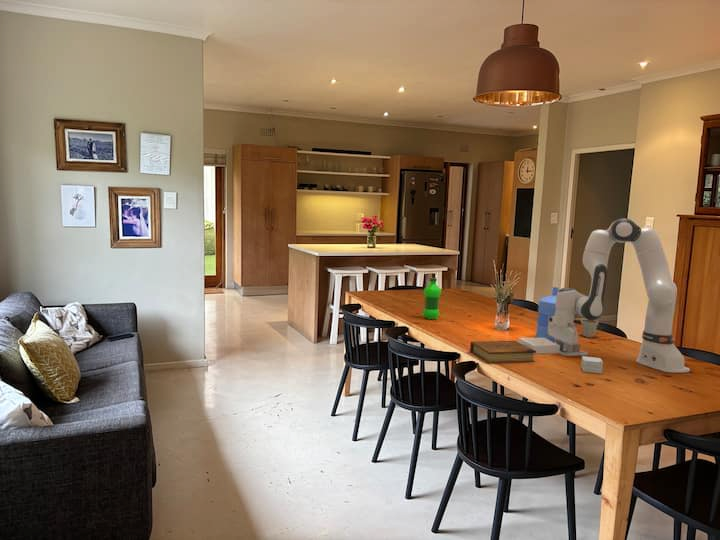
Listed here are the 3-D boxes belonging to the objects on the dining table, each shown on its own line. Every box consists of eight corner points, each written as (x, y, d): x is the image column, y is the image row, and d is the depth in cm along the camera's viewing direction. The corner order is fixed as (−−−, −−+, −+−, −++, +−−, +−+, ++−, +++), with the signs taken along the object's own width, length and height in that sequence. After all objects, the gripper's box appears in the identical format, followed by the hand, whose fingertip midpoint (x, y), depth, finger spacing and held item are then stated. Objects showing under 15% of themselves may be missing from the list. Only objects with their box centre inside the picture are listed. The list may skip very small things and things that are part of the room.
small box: (580, 366, 232) (581, 355, 232) (600, 369, 230) (601, 357, 229) (582, 371, 225) (583, 360, 224) (602, 374, 223) (603, 362, 222)
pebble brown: (579, 352, 255) (580, 344, 254) (573, 352, 254) (574, 344, 254) (575, 350, 258) (575, 342, 258) (569, 350, 258) (570, 342, 257)
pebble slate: (572, 352, 254) (573, 344, 254) (566, 352, 253) (567, 344, 253) (568, 350, 258) (569, 342, 257) (562, 350, 257) (563, 342, 256)
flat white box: (559, 354, 251) (560, 345, 251) (532, 354, 248) (533, 345, 248) (543, 346, 265) (544, 337, 264) (518, 346, 262) (518, 337, 261)
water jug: (539, 334, 292) (543, 284, 288) (569, 338, 284) (573, 287, 280) (532, 339, 278) (537, 287, 275) (563, 344, 270) (568, 291, 267)
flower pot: (599, 339, 286) (600, 323, 285) (580, 337, 288) (582, 322, 287) (595, 335, 295) (596, 320, 294) (577, 333, 297) (578, 318, 296)
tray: (588, 356, 250) (588, 353, 250) (564, 356, 247) (564, 353, 247) (571, 348, 264) (571, 345, 263) (547, 348, 261) (547, 346, 261)
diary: (512, 351, 255) (514, 340, 254) (534, 363, 237) (536, 350, 236) (469, 352, 249) (470, 340, 248) (488, 364, 231) (490, 351, 230)
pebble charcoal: (566, 352, 253) (566, 344, 253) (560, 352, 253) (560, 344, 252) (561, 350, 257) (562, 342, 256) (555, 350, 256) (556, 342, 256)
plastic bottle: (440, 320, 315) (443, 279, 312) (422, 320, 315) (425, 279, 312) (438, 317, 325) (440, 277, 322) (421, 316, 325) (423, 276, 322)
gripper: (582, 326, 243) (580, 355, 245) (557, 316, 263) (555, 343, 265) (570, 326, 242) (567, 355, 244) (546, 316, 262) (544, 343, 264)
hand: (561, 349), depth 255 cm, fingers closed on pebble charcoal, 4 cm apart
